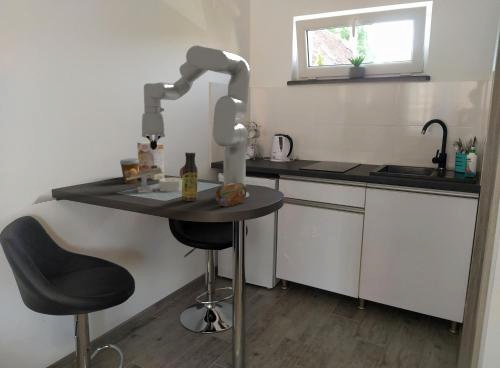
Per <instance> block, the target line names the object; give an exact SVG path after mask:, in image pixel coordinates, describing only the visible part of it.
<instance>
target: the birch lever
mask: <svg viewBox="0 0 500 368" xmlns="http://www.w3.org/2000/svg"><path fill="white" fill-rule="evenodd" d="M124 173H125V177H126V180H131V179H135V178H137V179H141V177H142V174H147V176H149V175H154V174H159V173H162V170H161V169H160V167H157V165H154V166H151V169H149V170H144V171H139V170H138V172H137V173H136V174H132V175H130V173H129V170H127V171H124Z"/></svg>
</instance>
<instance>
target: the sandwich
mask: <svg viewBox="0 0 500 368" xmlns="http://www.w3.org/2000/svg"><path fill="white" fill-rule="evenodd" d="M246 192H247V187H246V185H245V186H244V185H243V184H242V183H232V184H227V185H224V184H221V185H220V186H219V187H218V188H217V189H216V191H215V200H216V203H217V204H218V205H219V206H221V207H225V208H226V206H228V207H231V205H232V206H235V204H236V205H238V204H239V203H240V204H243V202H244V201H245V200H246V198H247V197H246ZM245 197H246V198H245Z"/></svg>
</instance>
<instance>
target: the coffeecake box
mask: <svg viewBox="0 0 500 368" xmlns="http://www.w3.org/2000/svg"><path fill="white" fill-rule="evenodd" d="M137 159H138V161H139V163H138V172H139V171H144V170H149V169H151V166H154V165H157V167H160V169H161V170H162V173H159V174H154V175H149V176H147V180H151V181H152V180H153V181H155V180H156V181H159V179H163V178H165V156H164V143H160V142H157V148H156V150H152V148H150V141H149V142H148V141H143V142H142V141H140V142H137Z"/></svg>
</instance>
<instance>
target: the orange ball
mask: <svg viewBox="0 0 500 368" xmlns="http://www.w3.org/2000/svg"><path fill="white" fill-rule="evenodd" d="M129 173H130V175H132V174H136V173H137V171H136V170H135V169H130V171H129Z"/></svg>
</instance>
